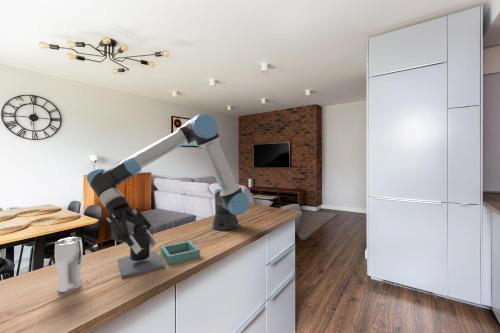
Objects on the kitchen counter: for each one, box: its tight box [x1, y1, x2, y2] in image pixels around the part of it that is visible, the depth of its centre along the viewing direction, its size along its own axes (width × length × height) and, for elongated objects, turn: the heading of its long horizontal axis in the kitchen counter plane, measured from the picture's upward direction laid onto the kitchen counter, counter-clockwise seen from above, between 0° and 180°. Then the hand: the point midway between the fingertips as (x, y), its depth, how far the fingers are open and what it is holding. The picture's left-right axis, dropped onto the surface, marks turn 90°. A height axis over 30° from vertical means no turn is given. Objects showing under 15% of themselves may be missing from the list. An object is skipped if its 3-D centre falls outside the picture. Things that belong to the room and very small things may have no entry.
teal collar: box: [160, 240, 201, 266], centre depth 98 cm, size 12×12×3 cm
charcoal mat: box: [117, 250, 166, 279], centre depth 90 cm, size 14×16×1 cm
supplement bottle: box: [129, 225, 151, 261], centre depth 90 cm, size 7×7×12 cm
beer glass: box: [54, 236, 84, 294], centre depth 74 cm, size 7×7×15 cm
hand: (146, 247), depth 89 cm, fingers closed on supplement bottle, 7 cm apart
